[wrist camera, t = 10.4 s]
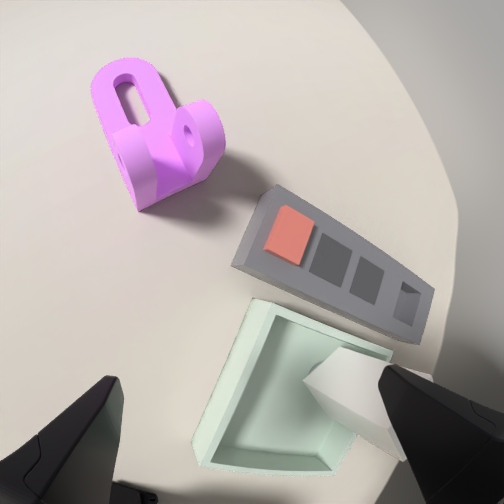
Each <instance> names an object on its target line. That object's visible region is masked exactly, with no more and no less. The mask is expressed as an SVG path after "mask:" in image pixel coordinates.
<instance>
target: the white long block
mask: <svg viewBox="0 0 504 504" xmlns="http://www.w3.org/2000/svg"><path fill="white" fill-rule="evenodd" d="M387 365H392V363H389V362H386V361H383V360H380V359H376V358H373V357H370V356H367V355H364V354H361V353H358V352H355V351H352V350H349V349H346V348H343V347H338V348H337V349H336V350H335V351H334V352H333V353H332V354H331V355H330V356H329V357H328V358H327V359H326V360H325V361H324V362H318V363H316V364H315V365H314V366H313V367H312V368H311V369H310V371H309V374H308V376H307V377H306V378H304V379H303V380H302V381H303V382H304V383H305V385H306V386H307V388H308V389H309V391H310V392H311V393H312V395H313V396H314V398H315V399H316V400H317V402H318V403H319V405H320V406H321V407H322V409H323V410H324V412H325V413H326V414H327V415H328V416H330V417H331V418H333V419H334V420H336V421H337V422H339V423H340V424H342V425H343V426H345V427H346V428H348V429H349V430H351V431H353V432H354V433H356V434H357V435H359V436H360V437H362V438H364V439H365V440H367V441H368V442H370V443H372V444H373V445H375V446H377V447H378V448H380V449H382V450H383V451H385V452H387V453H388V454H390V455H392V456H393V457H395V458H397V459H399V460H400V461H403V462H404V461H405V460H406V459H407V458H406V455H405V453H404V451H403V449H402V446H401V444H400V442H399V440H398V438H397V435H396V433H395V431H394V429H393V427H392V425H391V422H390V420H389V418H388V415H387V412H386V409H385V406H384V403H383V400H382V398H381V395H380V392H379V389H378V381H379V379H380V376H381V374H382V372H383V369H384V367H385V366H387ZM401 367H402V366H401ZM403 368H405V367H403ZM405 369H407V370H409V371H411V372H413V373H415V374H417V375H419V376H421V377H423V378H425V379H427V380H429V381H431V382H433V379H432V375H430V374H426V373H423V372H419V371H416V370H412V369H409V368H405ZM433 383H434V382H433Z"/></svg>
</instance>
